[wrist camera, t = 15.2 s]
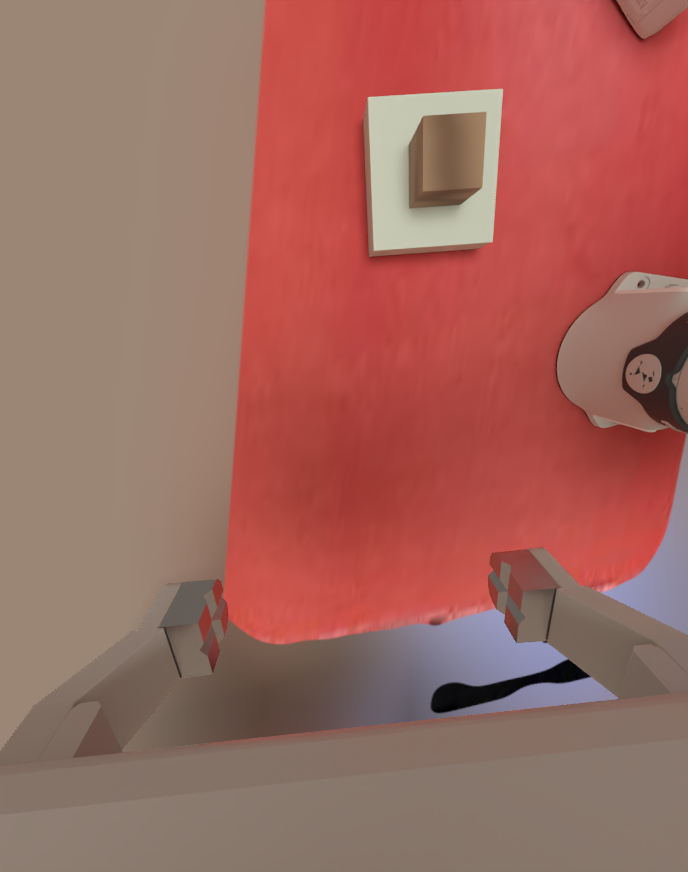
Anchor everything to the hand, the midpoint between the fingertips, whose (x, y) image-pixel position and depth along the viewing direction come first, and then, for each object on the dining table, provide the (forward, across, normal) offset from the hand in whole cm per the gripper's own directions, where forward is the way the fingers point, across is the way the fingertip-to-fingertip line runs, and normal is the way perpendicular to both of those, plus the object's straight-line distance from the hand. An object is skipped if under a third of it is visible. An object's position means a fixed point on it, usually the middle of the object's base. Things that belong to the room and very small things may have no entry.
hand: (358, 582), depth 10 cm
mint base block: (+34, -11, -19) cm, 41 cm away
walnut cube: (+30, -11, -19) cm, 37 cm away
